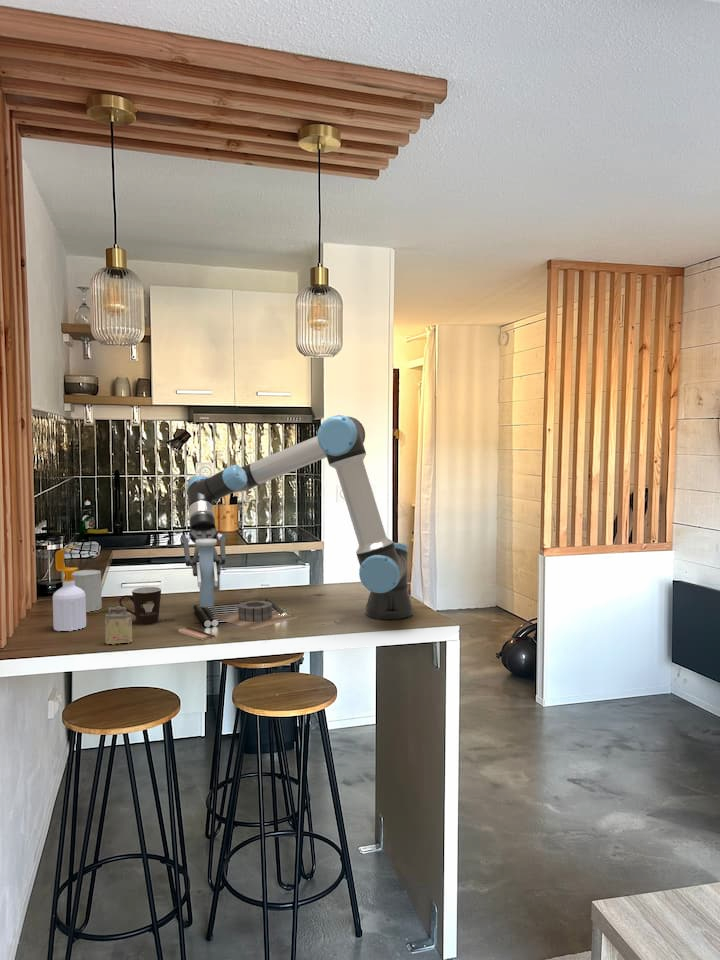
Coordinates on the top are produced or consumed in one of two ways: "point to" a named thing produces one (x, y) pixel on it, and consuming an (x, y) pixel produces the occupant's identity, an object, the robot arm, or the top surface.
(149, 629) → the top surface
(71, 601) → the soap bottle
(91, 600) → the grey tapered cup
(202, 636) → the tile
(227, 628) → the top surface
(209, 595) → the peg
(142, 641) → the top surface
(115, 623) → the beige rectangular bottle
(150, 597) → the coffee mug
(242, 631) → the top surface
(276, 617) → the eye plate
